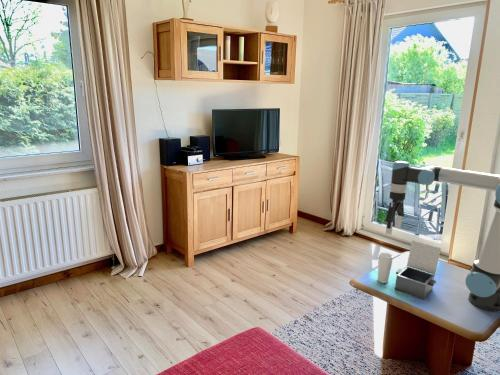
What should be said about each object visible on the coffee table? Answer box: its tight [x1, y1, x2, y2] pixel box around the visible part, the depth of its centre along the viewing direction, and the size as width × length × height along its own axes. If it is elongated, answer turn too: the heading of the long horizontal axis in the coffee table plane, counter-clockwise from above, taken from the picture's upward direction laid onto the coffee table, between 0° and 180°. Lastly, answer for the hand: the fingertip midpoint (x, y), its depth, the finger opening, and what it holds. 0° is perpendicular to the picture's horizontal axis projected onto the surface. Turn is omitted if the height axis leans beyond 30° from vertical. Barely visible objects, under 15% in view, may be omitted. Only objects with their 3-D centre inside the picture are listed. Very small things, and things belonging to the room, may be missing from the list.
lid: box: [406, 240, 442, 275], centre depth 191 cm, size 14×14×3 cm
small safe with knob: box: [394, 266, 437, 301], centre depth 186 cm, size 18×14×8 cm
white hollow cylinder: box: [377, 252, 394, 284], centre depth 193 cm, size 7×7×15 cm
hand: (393, 230), depth 192 cm, fingers open, 13 cm apart
